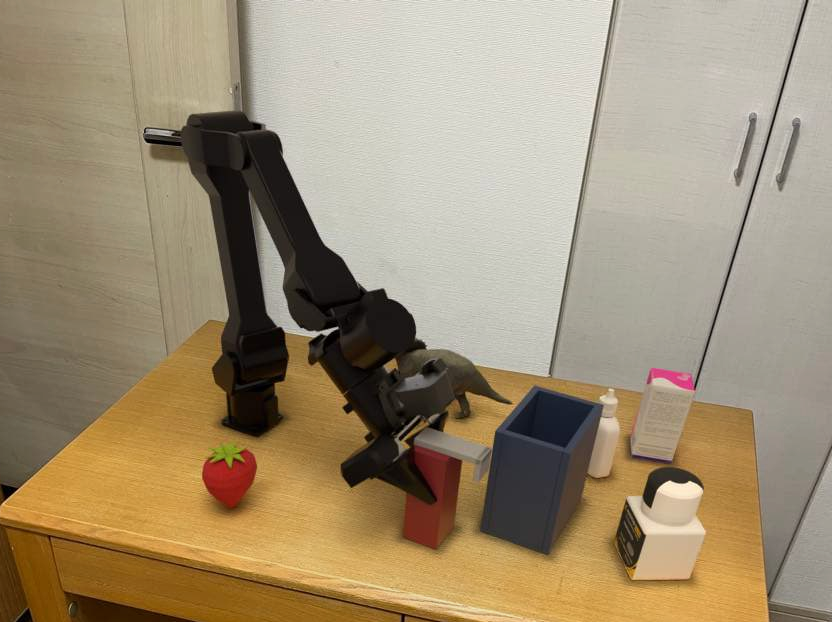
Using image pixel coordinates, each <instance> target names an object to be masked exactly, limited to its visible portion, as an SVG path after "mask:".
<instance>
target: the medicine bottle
mask: <svg viewBox="0 0 832 622" xmlns="http://www.w3.org/2000/svg"><path fill="white" fill-rule="evenodd" d="M704 490H705V486H704V484H703V482H702V480H701V479H700V477H698V476H697V475H695V474H694V473H693V472H691V471H688V470H686V469H684V468H680V467H676V466H662V467H657V468H655V469H654V470H652V471H650V473H649V474H648V476H647V480H646V483H645V486H644V489H643V494H642V495H628V496H626V498H625V502H624V505H623V508H622V512H621V516H620V519H619V522H618V525H617V530H616V533H615V535H614V536H615V537H614V539H613V544H614V546H615V549H616V550H617V552H618V553H617V554H618V555H619V557H620V559H621V562H622V564H623V565H624V568H625V570H626V571H627V572H626V573H627V575H628V576H629V578H630V580H632V581H660V580H661V581H664V580H665V581H667V580H669V581H671V580H672V581H673V580H675V581H676V580H689V579H690V577H691V575H692V573H693V570H694V567H695V565H696V562H697V559H698V557H699V554H700V551H701V549H702V546H703V543H704V541H705V538H706V535H707V531H706V529H705V528H704V526H703V524H702V523H701V521H700V520H699V517H698V516H697V515H696V513H697V511H698V508H699V504H700V502H701V500H702V497H703V494H704Z"/></svg>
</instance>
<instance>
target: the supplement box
mask: <svg viewBox="0 0 832 622" xmlns="http://www.w3.org/2000/svg"><path fill="white" fill-rule="evenodd" d="M695 393H696V390H695V385H694V380H693V375H692V373H690V372H689V373H688V372H682V371H676V370H675V371H674V370H669V369H664V368H656V367H650V369H649V373H648V377H647V379H646V384H645V387H644V389H643V393H642V396H641V400H640V403H639V407H638V410H637V414H636V417H635V419H634V423H633V428H632V431H631V432H630V433H631V434H630V436H629V452H630V453H629V454H630V458H632V459H636V460H644V461H650V462H654V463H655V462H656V463H661V464H672V461H673V459H674V456H675V452H676V450H677V447H678V444H679V441H680V439H681V436H682V432H683V429H684V427H685V424H686V421H687V417H688V415H689V411H690V409H691V405H692V402H693V400H694V397H695Z"/></svg>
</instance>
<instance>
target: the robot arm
mask: <svg viewBox="0 0 832 622" xmlns="http://www.w3.org/2000/svg"><path fill="white" fill-rule="evenodd" d="M180 142H181V147H182V150H183V152H184V155H185V156H186V158H187V161H188V165H189V169H190V173H191V175H192V176H193V177H194V179H195V180H196V181H197V182H198V184H199V185H200V186H201V187H202V189H203V190H204V192H205V193H206V195H208V200H209V204H210V211H211V216H212V223H213V228H214V234H215V240H216V245H217V251H218V258H219V263H220V270H221V274H222V281H223V287H224V292H225V298H226V305H227V310H228V317H227V320H226V322H225V325H224V328H223V330H222V333H221V335H220V345H221V355H220V356H219V357H218V359H217V360H216V362H215V363H214V364H213V366H211V371H212V372H211V373H212V377H213V381H214V383H215V385H217V386H218V387H219V388H220V390H223V392H225V397H226V398H225V399H226V409H227V416H224V418H221V420H220V421H221V422H220V424H221V425H222V426H225V427H228V428H231V429H234V430H237V431H240V432H243V433H245V434H249V435H251V436H254V437H259V436H261V435H263V434H264V433H265V432H267V430H269V429H271V428H272V427H273V426H274V425H276V424H277V423H279V422H280V421H281V420H283V418H284V414H283V413H282V412H281V413H280V412H279V398H278V397H279V396H278V394H276V384H277V383H283V382H285V379H286V375H287V370H288V365H289V361H290V354H289V351H288V348H287V344H286V343H287V341H286V332H285V330H284V329H283V327H282V326H279V325H277V324H276V322H275V321H274V320H273V319H272V317H271V316H270V315H269V313H268V310H267V304H266V298H265V290H264V285H263V284H264V283H263V277H262V271H261V263H260V257H259V250H258V243H257V236H256V230H255V223H254V217H253V216H254V215H253V210H252V203H251V197H252V199H253V202H254V203H255V205H256V207H257V209H258V212H259V214H260V216H261V218H262V220H263V222H264V224H265V227H266V229H267V231H268V234H269V235H270V238H271V240H272V242H273V244H274V247H275V248H276V250H277V251H276V252H278V256H279V257H280V260H281V262H282V265H283V268H284V272H283V280H282V291H283V295H284V297H285V299H286V304H287V310H288V312H289V315H290V317H291V319H292V320H293V321H294V323H295V324H296V325H297V326H298V327H299V328H300V329H304V330H305V331H307V332H316V333H319V332H323V331H327V330H331V329H333V330H332V331H330V332H329V333H328V334H324V333H319V334H318V335H316V336H315V337H314V338H312V339H311V340H310V341H308V344H307V345H308V353H307V362H308V365H309V366H312V367H313V366H315V365H316V364H317V363H318V364H319V365H320V366H321V368H322V370H324V372H325V373H326V375H327V376H328V377H329V379H330V380H331V381H332V383H333V384H334V386H335V387H336V389H337V390H338V391H339V393H340V394H341V395H342V397H343V398H344V400H345V401H346V402H347V403H345V404H344V405H343V406H342V407H341V409H342V410H343V411H344V413H345V414H346V415H347V416H348V415H349V414H350V413H352V412H354V413H355V414H356V415H357V417H358V419H359V420H360V421H361V423H362V424H363V425H364V427H365V428H366V429H367V431H368V432H367V434H365V435H364V436H363V439H364V440H365V441H366V443H365V444H363V445H362V446H360V447H358V448H357V449H356V450H354V451H353V452H352V453H351V454H350V455H349V456H348V457H347V458H346V459H344V460H343V461H342V462H341V463H340V469H339V470H340V476H341V477H342V478H343V480H344V481H345V482H346V484H347V485H348V487H349V488H350V489H353V488H354V487H356V486H358V485H360V484H361V483H363V482H365V481H366V480H370V481H372V480H374V479H377V480H379V481H381V482H383V483H386V484H388V485H390V486H393V487H395V488H396V489H399V490H400V491H402V492H405V493H406V492H407V493H408V494H410V495H412V496H414V497H416V498H418V499H420V500H421V501H423V502H425V503H427V504H429V505H432V504H434V503H436V502H437V498H436V496H435V495H434V493H433V491H432V489H431V487H430V486H429V484H428V482H427V481H426V479H425V478H424V476H423V475H422V473H421V471H420V470H419V468H418V467H417V465H416V464H415V461H414V453H415V446H414V438H415V437H416V436H417V435H418V434H419V433H420V432H421V431H422V430H424V429H425V428H426V427H428V428H431V429H434V430H437V431H440V432H444V431H445V425H446V422H447V418H448V417H449V410H445V412H444V413H443V414H441V415H439V414H438V413H440V412H442V411H443V410H444V408H445V409H446V408H448V407H449V406H450V405H452V403H453V402H454V401H455V400H456V398H457V395H456V394H455V392H454V391H453V389H452V388H451V385H450V384H451V383H452V382H453V381H454V380H455V375H454V374H453V373H451V371H450V369H449V367H448V366H447V365H446V364H445V363H444V362H443V360H442V359H441V358H440V357H439V358H434V359H430V360H428V361H427V362H426V363H425V364H424V365H423V367H422V374H421V373H417V374H416V375H415V376H413V377H409V378H406V377H405V376H404V375H403V374H402V372H401V371H400V370H398V368H397V367H394V368H393V369H391V370H390V371H389V370H388V368H387V367H386V365H387V364H388V363H390V362H391V361H393V360H395V358H396V357H397V356H399V355H400V354H401V353H403V352H404V351H406V350H407V349H409V348H410V347H411V345H412V344H413V342H414V340H415V338H417V337H416V336H417V325H416V321H415V318H414V315H413V314H412V313H410V312H409V311H408V309H407V308H406V307H405V306H404V305H403V304H402V303H401V302H400V301H397V300H396V299H392V298H389V296H388V295H387V294H388V293H387V291H386V289H385V288H384V287H381V288H377V289H372V290H367V289H366V288H365V287H364V286H363V285H362V284H361V283H360V282H358V281H357V279H356V277H355V275H354V274H353V273H352V271H351V269H350V268H349V266H348V265H347V262H346V261H345V259H344V258H343V257H342V256H341V255H339V254H338V253H337V252H335V251H334V250H332V249H331V248H329V247H328V246H327V245H326V243H325V242H324V240H323V239H322V236H321V235H320V233H319V231H318V229H317V227H316V225H315V222H314V220H313V218H312V215H311V213H310V212H309V209H308V207H307V205H306V203H305V201H304V199H303V197H302V194H301V191H300V190H299V188H298V186H297V183H296V181H295V180H294V177H293V175H292V173H291V170H290V169H289V166H288V163H287V162H286V160H285V157H284V149H283V144H282V140H281V137H280V136H279V135H278V133H277V132H276V131H274V130H270V129H267V124H266V123H262V122H259V121H255V120H253V119H249V118H248V116H247V114H246V113H245V112H244V111H243V110H239V109H234V110H222V111H210V112H198V113H191V114H189V115H188V118H187V119H186V124H185V125H183V126H182V127H181V129H180ZM250 195H251V196H250ZM335 328H337V329H335ZM444 433H445V432H444ZM402 441H403V442H404V443H405V444H406V445H407V446H408V448H405V445H404V444H403V443H402Z"/></svg>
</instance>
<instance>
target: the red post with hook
mask: <svg viewBox="0 0 832 622" xmlns="http://www.w3.org/2000/svg"><path fill="white" fill-rule="evenodd" d="M414 446H415V453H414V461H415V464H416V465H417V467H418V468H419V470H420V471H421V473H422V475H423V476H424V478H425V479H426V481H427V482H428V484H429V486H430V487H431V489H432V491H433V493H434V495H435V496H436V498H437V502H436V503H434V504H432V505H429V504H427V503H425V502H423V501H421V500H420V499H418V498H416V497H414V496H412V495H410V494H408V493H407V492H405V504H404V505H405V506H404V517H403V518H404V519H403V529H402V538H404V539H407V540H408V541H412V542H414V543H417V544H420V545H422V546H426V547H427V548H428V547H429V548H431V549H434V550H438V548H439V547H440V546H441V544H442V543H443V542H444V541H445V539H446V538H447V537H448V536H449V535H450V533H451V532H452V531H453V529H454V528H455V520H456V514H457V505H458V496H459V490H460V489H459V488H460V481H461V474H462V473H461V472H462V467H463V465H462V464H463V462H465V463H469V464H473V465H474V467H473V475H472V482H473V483H476V484H479V483H480V481H481V480H482V479H483V478H484V477H485V475H486V474H487V473H488V472H489V469H490V462H491V456H492V449H493V447H490V446H488V445H484V444H482V443H478V442H475V441H472V440H469V439H465V438H462V437H459V436H456V435H453V434H450V433H447V432H440V431H437V430H434V429H431V428H428V427H426V428H425V429H424V430H422V431H421V432H420V433H419V434H418V435H417V436H416V437H415V438H414Z"/></svg>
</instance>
